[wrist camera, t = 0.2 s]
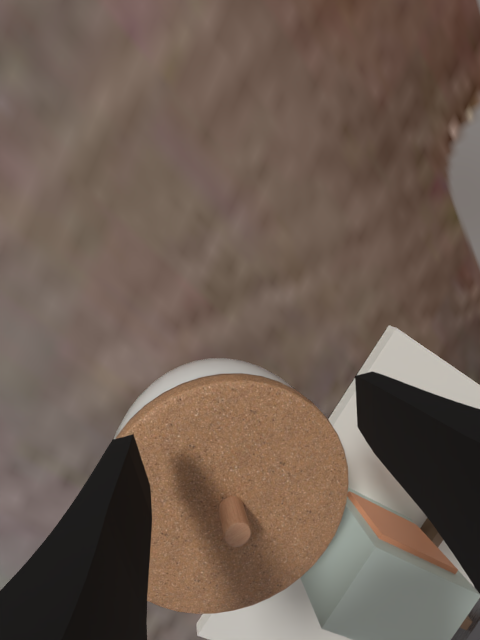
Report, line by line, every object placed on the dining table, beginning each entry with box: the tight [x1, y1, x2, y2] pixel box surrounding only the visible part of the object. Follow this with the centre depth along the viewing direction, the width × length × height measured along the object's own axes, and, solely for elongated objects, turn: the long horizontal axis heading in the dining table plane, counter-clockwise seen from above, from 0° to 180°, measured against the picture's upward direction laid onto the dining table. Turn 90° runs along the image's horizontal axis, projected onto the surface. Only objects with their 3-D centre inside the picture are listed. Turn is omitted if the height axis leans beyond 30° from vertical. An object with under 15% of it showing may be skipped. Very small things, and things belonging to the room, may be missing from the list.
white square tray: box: [197, 326, 480, 640], centre depth 26 cm, size 24×20×2 cm
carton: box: [301, 487, 480, 640], centre depth 22 cm, size 5×8×6 cm, turn 58°
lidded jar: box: [114, 358, 349, 614], centre depth 18 cm, size 11×11×9 cm
